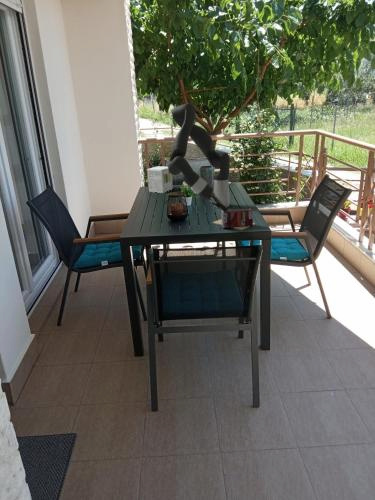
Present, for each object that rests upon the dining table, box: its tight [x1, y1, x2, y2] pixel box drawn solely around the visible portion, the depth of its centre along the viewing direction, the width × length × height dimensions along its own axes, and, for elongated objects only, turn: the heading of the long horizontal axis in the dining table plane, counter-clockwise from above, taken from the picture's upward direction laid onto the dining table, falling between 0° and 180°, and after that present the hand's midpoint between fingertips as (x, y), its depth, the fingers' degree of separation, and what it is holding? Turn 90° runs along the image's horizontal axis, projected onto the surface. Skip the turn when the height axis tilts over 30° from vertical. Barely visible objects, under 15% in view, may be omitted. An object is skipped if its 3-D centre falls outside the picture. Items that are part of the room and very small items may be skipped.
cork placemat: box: [212, 218, 256, 231], centre depth 210 cm, size 12×20×1 cm, turn 44°
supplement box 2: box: [220, 208, 254, 229], centre depth 203 cm, size 9×5×16 cm
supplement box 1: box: [147, 165, 174, 194], centre depth 293 cm, size 13×13×18 cm
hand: (226, 210), depth 199 cm, fingers closed
